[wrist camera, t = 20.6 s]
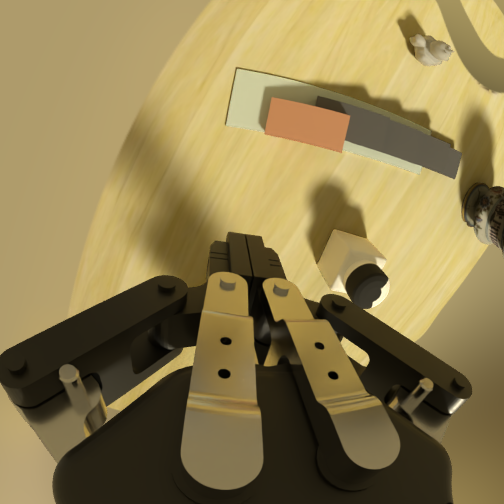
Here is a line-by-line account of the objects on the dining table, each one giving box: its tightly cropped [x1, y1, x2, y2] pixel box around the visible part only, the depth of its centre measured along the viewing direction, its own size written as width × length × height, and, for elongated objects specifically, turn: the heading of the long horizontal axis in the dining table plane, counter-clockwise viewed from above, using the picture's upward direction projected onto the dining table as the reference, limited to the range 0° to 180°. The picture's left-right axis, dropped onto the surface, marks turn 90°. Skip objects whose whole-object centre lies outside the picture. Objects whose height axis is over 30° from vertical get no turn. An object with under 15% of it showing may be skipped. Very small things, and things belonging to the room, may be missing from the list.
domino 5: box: [422, 147, 462, 179], centre depth 39 cm, size 2×5×10 cm
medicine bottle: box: [317, 229, 390, 309], centre depth 42 cm, size 7×7×12 cm
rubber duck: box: [410, 34, 454, 66], centre depth 28 cm, size 5×7×8 cm
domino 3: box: [353, 120, 424, 164], centre depth 36 cm, size 2×5×10 cm
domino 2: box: [315, 96, 390, 152], centre depth 34 cm, size 2×5×10 cm
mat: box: [226, 69, 432, 175], centre depth 37 cm, size 32×8×1 cm, turn 79°
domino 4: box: [416, 134, 451, 174], centre depth 37 cm, size 2×5×10 cm
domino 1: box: [264, 97, 350, 153], centre depth 34 cm, size 2×5×10 cm
